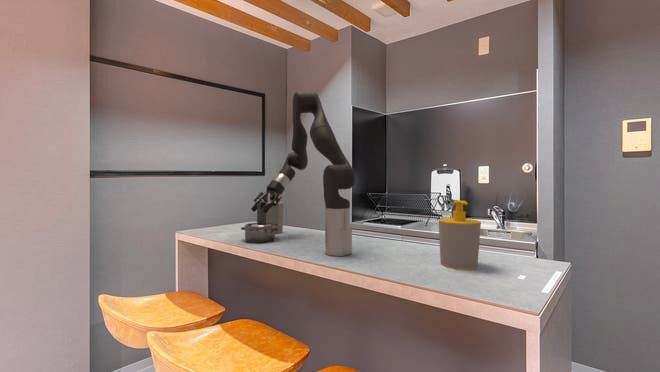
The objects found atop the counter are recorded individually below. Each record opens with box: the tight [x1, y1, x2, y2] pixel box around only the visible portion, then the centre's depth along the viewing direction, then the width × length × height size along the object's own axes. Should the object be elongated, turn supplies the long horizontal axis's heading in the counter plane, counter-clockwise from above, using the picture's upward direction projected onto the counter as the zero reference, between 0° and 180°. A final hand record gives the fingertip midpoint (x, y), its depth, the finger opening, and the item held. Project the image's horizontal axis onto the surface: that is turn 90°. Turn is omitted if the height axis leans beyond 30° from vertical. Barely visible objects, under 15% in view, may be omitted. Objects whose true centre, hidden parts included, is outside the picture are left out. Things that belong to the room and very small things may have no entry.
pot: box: [240, 222, 279, 244], centre depth 154 cm, size 17×13×7 cm
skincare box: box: [266, 201, 285, 235], centre depth 174 cm, size 8×7×16 cm
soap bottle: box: [438, 199, 482, 271], centre depth 113 cm, size 13×13×21 cm
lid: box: [251, 202, 272, 227], centre depth 154 cm, size 9×9×11 cm
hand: (258, 211), depth 153 cm, fingers open, 8 cm apart
